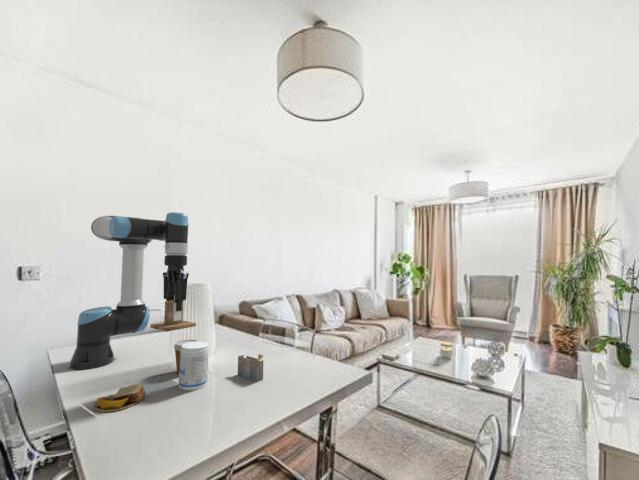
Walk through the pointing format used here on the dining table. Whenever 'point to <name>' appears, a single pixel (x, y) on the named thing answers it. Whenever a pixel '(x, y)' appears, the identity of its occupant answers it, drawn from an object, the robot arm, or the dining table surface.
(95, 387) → the dining table surface
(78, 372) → the dining table surface
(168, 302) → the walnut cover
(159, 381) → the grey square tile
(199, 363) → the supplement tub
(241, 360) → the ruin model on sheet
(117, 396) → the toy sandwich meal
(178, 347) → the disposable coffee cup
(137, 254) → the robot arm
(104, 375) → the dining table surface
